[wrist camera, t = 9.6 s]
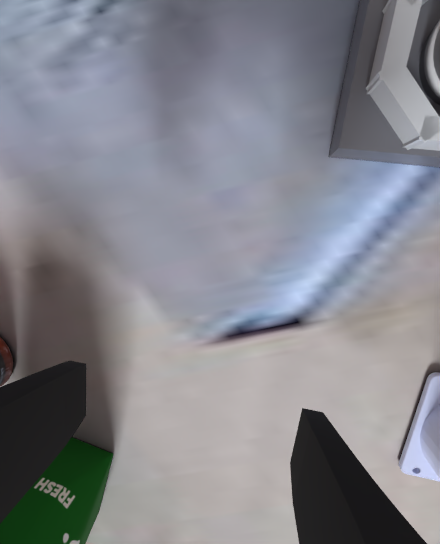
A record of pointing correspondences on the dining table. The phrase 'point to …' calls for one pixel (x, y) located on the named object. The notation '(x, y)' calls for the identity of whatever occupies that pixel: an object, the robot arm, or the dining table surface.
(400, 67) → the grey base plate
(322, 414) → the robot arm
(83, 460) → the milk carton
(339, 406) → the dining table surface
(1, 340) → the supplement bottle
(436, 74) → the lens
